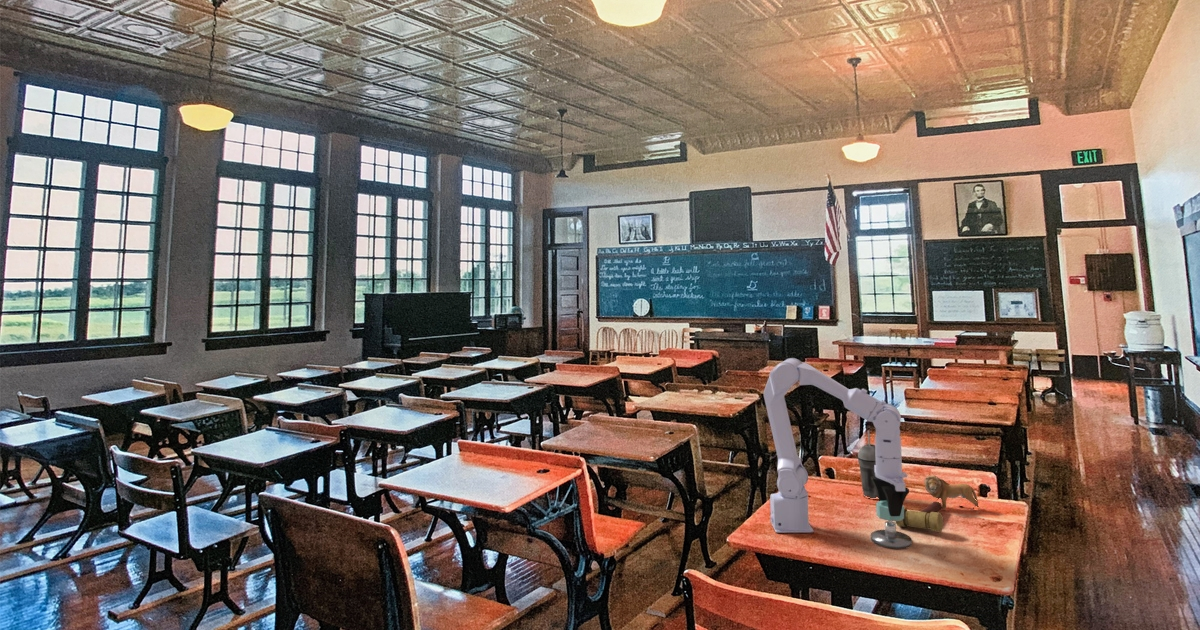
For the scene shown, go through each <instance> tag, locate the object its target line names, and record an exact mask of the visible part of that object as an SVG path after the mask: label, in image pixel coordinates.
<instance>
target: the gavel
mask: <svg viewBox="0 0 1200 630" xmlns="http://www.w3.org/2000/svg"><path fill="white" fill-rule="evenodd" d="M941 510H943V509H942V502H941V503H939V502H937V501H933V502H931V503H930V504H928V505H927V506H925V507H924V508H923V509H922V510H920V511H919V510H911V509H910V510H908V509H907V508H905V507H904V519H902V520H901V521H895V523H896V526H897V527H903V528H907V527H908V526H909V527H912V528H919V529H926V530H928V529H930V530H931V532H935V533H941V532H942V531H943V528H944V518H943V515H942V514H941Z"/></svg>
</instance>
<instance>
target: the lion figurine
mask: <svg viewBox="0 0 1200 630" xmlns="http://www.w3.org/2000/svg"><path fill="white" fill-rule="evenodd" d="M923 483H924V487H925V491H926V492H927V493H929V495H931V497H933V498H935V499H936V498H938V499H939V498H941V505H942V509H941V510H944V511H945V510H946V509H947V501H948V498H949V499H956V498H959V497H961V499H962V498H966V499H967V501H968V502H970V503H971V504H973V505H974V507H975V506H977V507H979V506H978V503H979V502H978V497H977V493H976V490H975V489H974V488H973V486H971V485H969V484H966V483H959V484H958V483H957V484H950V483H948V482H946V481H945V480H944V479H941V478H940V477H938V476H936V475H934V474H931V475H927V476H926V477H925V478H924V481H923ZM975 499H976V500H977V501H976V500H975Z"/></svg>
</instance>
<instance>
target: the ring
mask: <svg viewBox="0 0 1200 630" xmlns="http://www.w3.org/2000/svg"><path fill="white" fill-rule="evenodd" d="M875 508H876V510H875V511H876V516H877V518H879V519H881V520H885V521H892V522H896V521H901V520H902V519H904V508H905V506H904V505H903V506H902V510H901V514H900V516H890V513H889V509H888V503H887V500H881V501H879V500H878V501H877V502H876V503H875Z"/></svg>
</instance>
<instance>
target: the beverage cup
mask: <svg viewBox="0 0 1200 630" xmlns="http://www.w3.org/2000/svg"><path fill="white" fill-rule="evenodd" d="M870 434H871V433H870V430H868V429H867V439H868V443H866V444H865V445H862V447H860V449H859V450H858V453H857V462H858V464H859V471H860V479H861V487H862V493H863V496H864V495H865V496H867V497H870V498H876V497H878V494H877V491H876V488H875V486H874V484H873V482H872V480H871V477H872V476H875V472H874V465H876V457H875V444H871V435H870Z"/></svg>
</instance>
